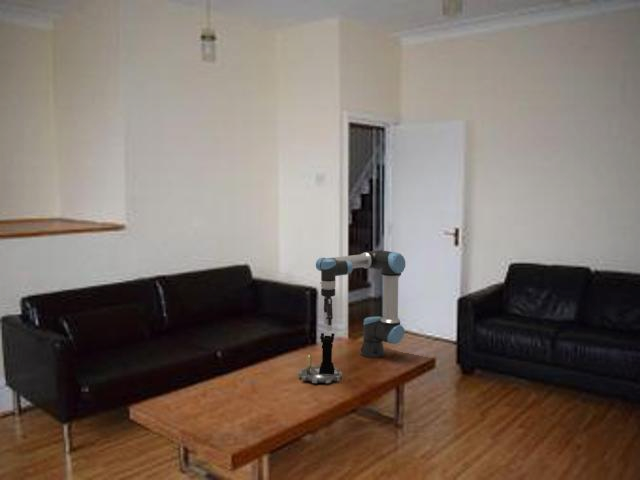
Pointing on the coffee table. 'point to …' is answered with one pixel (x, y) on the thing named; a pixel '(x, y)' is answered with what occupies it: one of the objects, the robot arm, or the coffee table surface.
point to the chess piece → (327, 354)
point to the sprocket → (313, 374)
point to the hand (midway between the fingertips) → (327, 327)
